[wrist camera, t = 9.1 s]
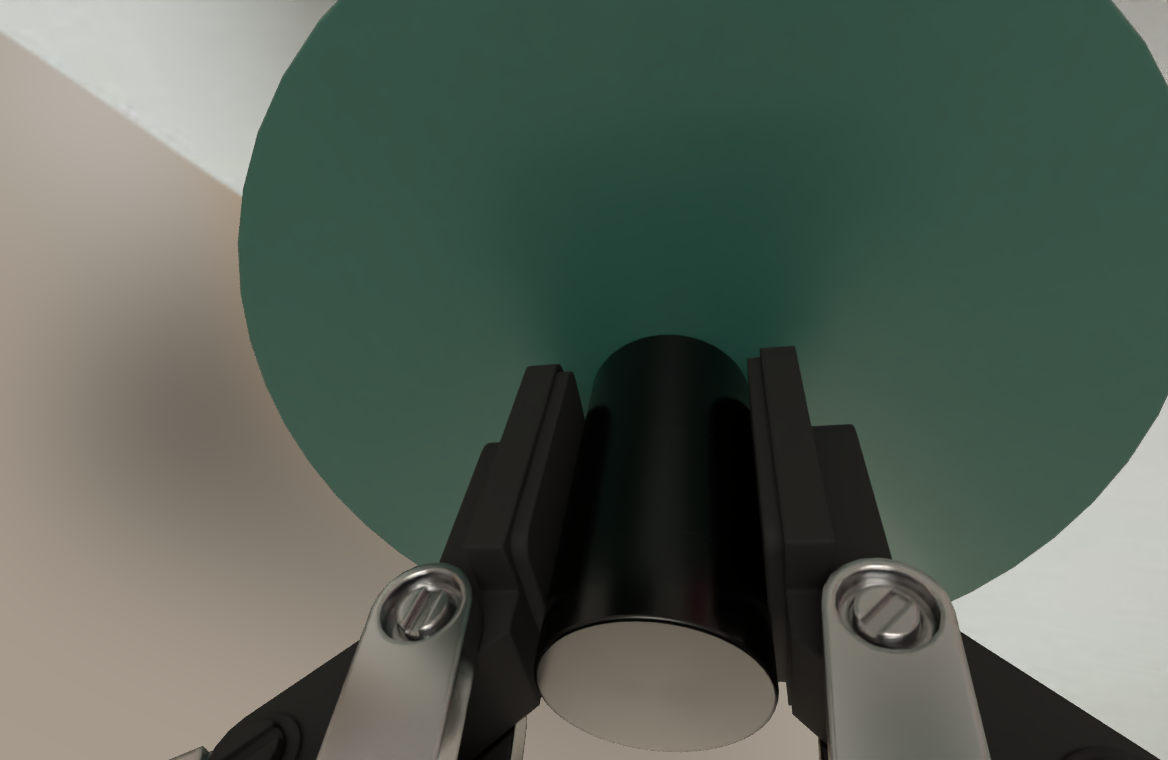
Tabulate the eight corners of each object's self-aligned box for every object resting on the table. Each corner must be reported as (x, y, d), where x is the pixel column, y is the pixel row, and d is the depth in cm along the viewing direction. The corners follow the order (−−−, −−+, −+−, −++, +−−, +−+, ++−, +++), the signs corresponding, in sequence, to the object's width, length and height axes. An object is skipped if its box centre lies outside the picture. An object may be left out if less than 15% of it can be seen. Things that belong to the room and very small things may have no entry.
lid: (540, -549, 7) (-27, -2072, 2) (1385, 303, 11) (2079, 730, 5) (184, 401, 16) (-84, 673, 10) (718, 682, 19) (725, 988, 14)
